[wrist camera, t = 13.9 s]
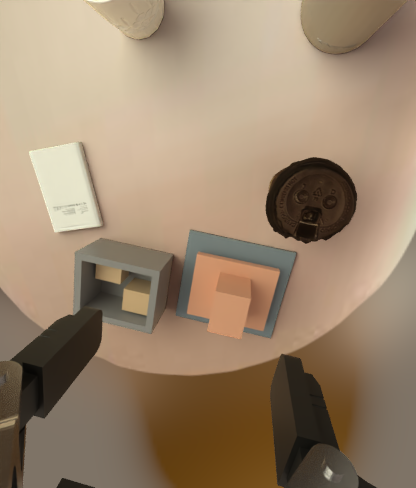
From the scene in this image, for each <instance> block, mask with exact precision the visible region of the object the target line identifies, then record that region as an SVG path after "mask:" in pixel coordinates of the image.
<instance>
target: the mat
mask: <svg viewBox="0 0 416 488" xmlns="http://www.w3.org/2000/svg"><path fill="white" fill-rule="evenodd" d="M198 252H203V253H208V254H212V255H217V256H222V257H226V258H231V259H236V260H240V261H245V262H250V263H254V264H259V265H264V266H269V267H273V268H278V269H279V270H280V274H279V277H278V281H277V284H276V288H275V292H274V295H273V299H272V302H271V306H270V309H269V313H268V316H267V320H266V323H265V327H264V330H263V331H260V330H255V329H251V328H247V327H244V329H243V332H246V333H251V334H255V335H259V336H263V337H267V338H271V335H272V332H273V328H274V325H275V322H276V319H277V315H278V312H279V309H280V306H281V302H282V299H283V296H284V292H285V289H286V286H287V283H288V279H289V276H290V273H291V269H292V266H293V263H294V260H295V256H296V252H292V251H287V250H282V249H278V248H273V247H268V246H264V245H259V244H255V243H250V242H245V241H241V240H236V239H231V238H227V237H222V236H217V235H213V234H208V233H203V232H199V231H194V230H190V232H189V238H188V244H187V250H186V256H185V262H184V268H183V274H182V280H181V286H180V292H179V298H178V304H177V310H176V316H180V317H184V318H188V319H192V320H196V321H201V322H205V323H209V320H210V319H208V318H204V317H199V316H195V315H191V314H187V309H188V303H189V297H190V292H191V286H192V280H193V274H194V269H195V263H196V257H197V253H198Z"/></svg>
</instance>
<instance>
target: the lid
mask: <svg viewBox="0 0 416 488" xmlns="http://www.w3.org/2000/svg"><path fill="white" fill-rule="evenodd" d="M279 274H280V270H279V269H278V268H273V267H269V266H264V265H259V264H254V263H250V262H245V261H240V260H236V259H231V258H226V257H222V256H217V255H212V254H208V253H203V252H198V253H197V257H196V263H195V269H194V274H193V280H192V286H191V292H190V297H189V303H188V309H187V314H191V315H195V316H199V317H204V318H208V319H210V320H209V325H208V330H207V331H208V332H212V333H216V334H220V335H225V336H229V337H233V338H237V339H241V337H242V333H243V329H244V327H247V328H251V329H255V330H260V331H263V330H264V327H265V323H266V320H267V316H268V313H269V309H270V306H271V302H272V299H273V295H274V292H275V288H276V284H277V281H278V277H279Z"/></svg>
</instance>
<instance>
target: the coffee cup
mask: <svg viewBox="0 0 416 488" xmlns="http://www.w3.org/2000/svg"><path fill="white" fill-rule="evenodd" d="M356 201H357V193H356V190H355V186H354V183H353V182H352V179H351V178H350V176H349V175H348V174H347V173H346V172H345V171H344V170H343V169H342V168H341V167H340V166H339V165H337V164H335V163H334V162H332V161H330V160H327V159H323V158H316V157H313V158H308V159H305V160H302V161H298V162H294V163H292V164H291V165H290V166H288V167H287V168H285V169H283V170H281V171H280V172H278V173H277V174H275V176H274V177H273V178H272V180H271V182H270V185H269V193H268V196H267V200H266V215H267V218H268V221H269V223H270V225H271V227H273V230H274V231H275V232H278V233H279V234H281V235H282V236H284V237H285V238H288V237H293V238H295V239H296V240H297V241H302V242H304V243H305V244H306V243H309V242H311V241H318V240H320V239H324V240H328V239H330V238H331V237H332V236H334V235H335V234H336V233H338V232H340V231H341V230H342V229H343V228H344V227H345V226H346V225H347V224H349V222H350V220H351V218H352V217H353V214H354V212H355V210H356Z"/></svg>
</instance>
